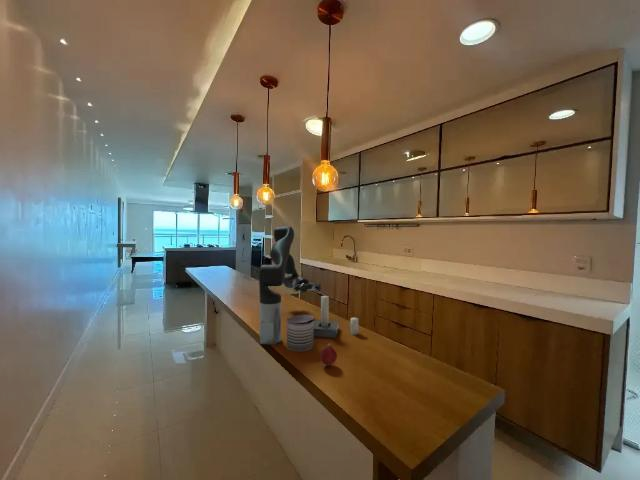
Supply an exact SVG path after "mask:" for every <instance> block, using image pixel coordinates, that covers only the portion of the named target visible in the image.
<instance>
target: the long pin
mask: <svg viewBox="0 0 640 480" xmlns="http://www.w3.org/2000/svg"><path fill="white" fill-rule="evenodd" d="M329 300H330V298H329V296H328V295H321V296H320V307H321V308H320V320H321V327H328V324H329V321H330V320H329V318H330V317H329V316H330V314H329V311H330V309H329V305H330V301H329Z"/></svg>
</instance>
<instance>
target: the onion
mask: <svg viewBox="0 0 640 480" xmlns="http://www.w3.org/2000/svg"><path fill="white" fill-rule="evenodd" d="M320 352H321V353H320V360H321V362H322V363H323V364H324V365H326V366H328V367H330V366H332V365H333V364H334V363H335V362H336V361H337V357H338V353H337V351H336V349H335V348H334V347H332V345H331V343H328V344H327V345H326V346H324V347H323V349H322V350H321V351H320Z"/></svg>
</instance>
